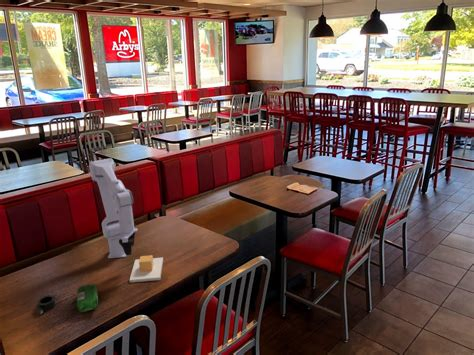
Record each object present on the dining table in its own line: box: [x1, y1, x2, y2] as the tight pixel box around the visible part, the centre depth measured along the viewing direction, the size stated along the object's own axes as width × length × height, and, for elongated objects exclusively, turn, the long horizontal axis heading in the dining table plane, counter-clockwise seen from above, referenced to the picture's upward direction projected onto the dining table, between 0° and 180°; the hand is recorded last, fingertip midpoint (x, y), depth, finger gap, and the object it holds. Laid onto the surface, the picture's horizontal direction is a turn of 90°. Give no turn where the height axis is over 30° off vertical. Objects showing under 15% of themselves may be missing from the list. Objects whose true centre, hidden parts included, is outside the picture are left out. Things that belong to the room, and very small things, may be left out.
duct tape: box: [35, 293, 58, 315], centre depth 139 cm, size 8×10×3 cm
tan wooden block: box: [139, 254, 154, 272], centre depth 160 cm, size 5×5×4 cm
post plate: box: [129, 257, 164, 283], centre depth 160 cm, size 16×12×4 cm
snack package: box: [76, 283, 99, 313], centre depth 140 cm, size 7×16×5 cm, turn 20°
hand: (129, 250), depth 159 cm, fingers open, 7 cm apart
